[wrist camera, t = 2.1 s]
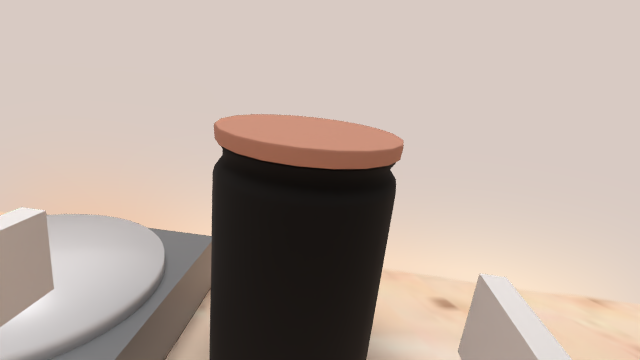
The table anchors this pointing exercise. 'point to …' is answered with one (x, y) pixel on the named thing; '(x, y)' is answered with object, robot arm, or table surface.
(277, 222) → the coffee jar
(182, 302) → the kitchen scale
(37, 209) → the robot arm
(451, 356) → the table surface
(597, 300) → the table surface
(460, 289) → the table surface
